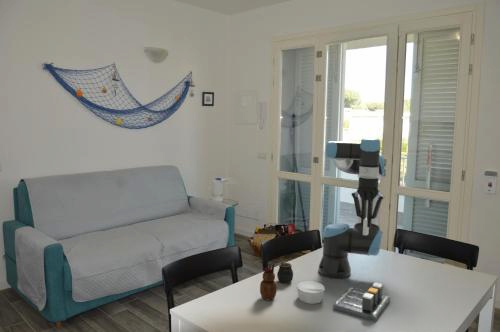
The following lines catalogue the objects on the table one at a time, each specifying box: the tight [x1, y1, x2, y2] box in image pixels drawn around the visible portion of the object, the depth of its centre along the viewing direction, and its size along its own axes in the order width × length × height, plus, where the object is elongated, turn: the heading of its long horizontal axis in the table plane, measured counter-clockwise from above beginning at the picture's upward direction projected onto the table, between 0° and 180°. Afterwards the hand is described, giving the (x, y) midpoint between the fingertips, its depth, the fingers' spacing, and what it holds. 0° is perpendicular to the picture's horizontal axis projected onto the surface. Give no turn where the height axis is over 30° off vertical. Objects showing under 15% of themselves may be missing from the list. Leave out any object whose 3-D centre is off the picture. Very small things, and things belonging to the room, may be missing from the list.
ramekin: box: [296, 280, 326, 305], centre depth 159 cm, size 11×11×5 cm
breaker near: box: [362, 293, 374, 311], centre depth 147 cm, size 3×4×5 cm
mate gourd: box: [276, 257, 294, 285], centre depth 176 cm, size 7×8×10 cm
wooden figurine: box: [259, 262, 278, 301], centre depth 158 cm, size 7×6×15 cm
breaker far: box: [371, 282, 384, 299], centre depth 157 cm, size 3×4×5 cm
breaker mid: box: [367, 286, 378, 305], centre depth 152 cm, size 3×4×5 cm
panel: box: [332, 286, 391, 322], centre depth 155 cm, size 16×20×2 cm
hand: (365, 234), depth 160 cm, fingers closed
